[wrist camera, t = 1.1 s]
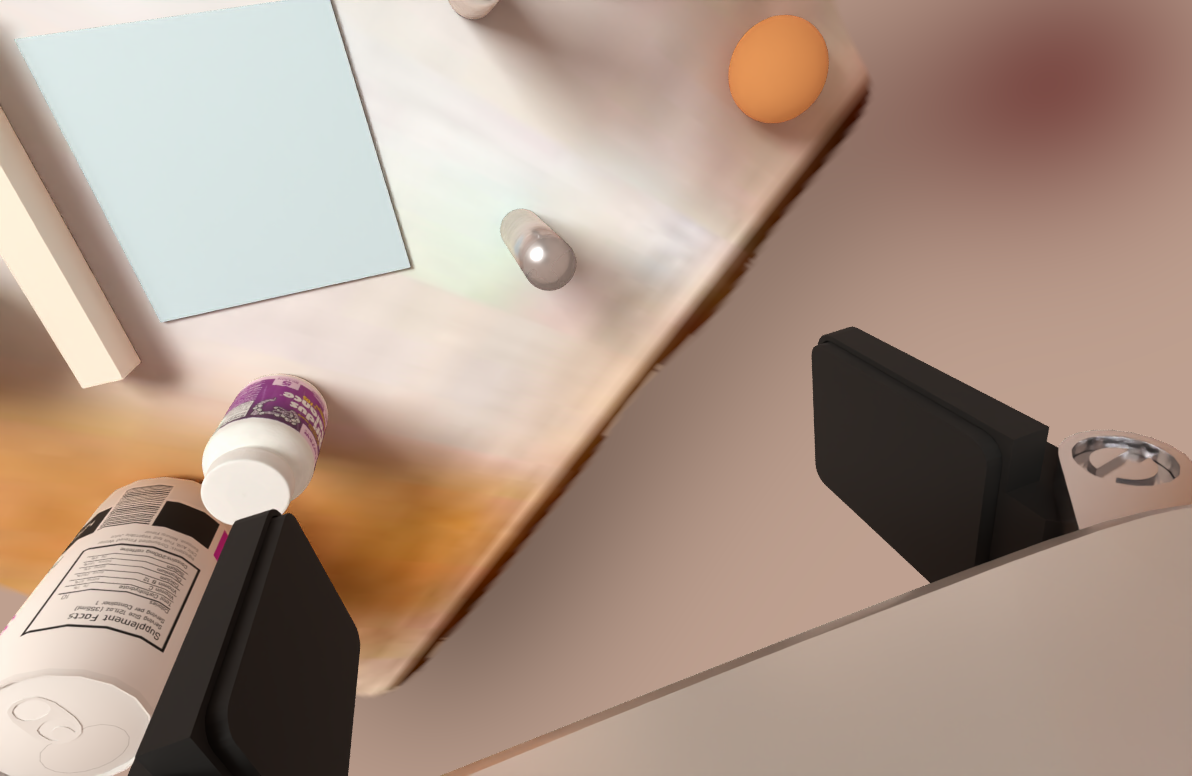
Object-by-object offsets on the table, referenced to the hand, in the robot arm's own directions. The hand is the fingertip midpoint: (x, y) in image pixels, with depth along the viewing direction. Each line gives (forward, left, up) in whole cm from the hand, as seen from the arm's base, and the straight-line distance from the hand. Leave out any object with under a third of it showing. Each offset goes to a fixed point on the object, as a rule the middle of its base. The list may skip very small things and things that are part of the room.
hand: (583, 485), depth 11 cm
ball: (-5, +19, -27) cm, 33 cm away
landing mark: (-5, -11, -29) cm, 32 cm away
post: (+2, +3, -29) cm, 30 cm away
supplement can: (+15, -23, -30) cm, 40 cm away
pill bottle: (+9, -14, -30) cm, 34 cm away
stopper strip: (-5, -21, -29) cm, 36 cm away
